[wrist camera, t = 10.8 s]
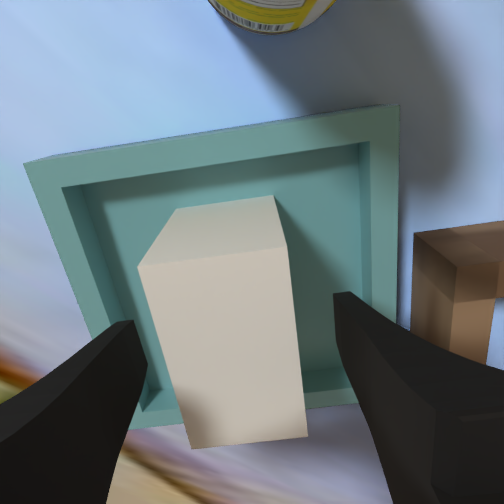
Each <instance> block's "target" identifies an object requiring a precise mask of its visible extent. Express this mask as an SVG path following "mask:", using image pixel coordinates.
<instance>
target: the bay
mask: <svg viewBox="0 0 504 504" xmlns="http://www.w3.org/2000/svg"><path fill="white" fill-rule="evenodd" d="M502 297H504V221H497V222H489V223H482V224H475V225H467V226H460V227H453V228H446V229H438V230H431V231H424V232H417V233H414V242H413V269H412V296H411V322H410V332H411V333H413V334H414V335H416V336H418V337H420V338H422V339H424V340H426V341H428V342H430V343H432V344H434V345H436V346H438V347H441V348H443V349H445V350H448V351H450V352H452V353H455V354H457V355H460V356H462V357H465V358H468V359H470V360H473V361H476V362H479V363H482V364H484V365H486V360H487V353H488V346H489V339H490V332H491V326H492V319H493V312H494V305H495V298H502Z"/></svg>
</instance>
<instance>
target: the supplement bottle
mask: <svg viewBox="0 0 504 504" xmlns="http://www.w3.org/2000/svg"><path fill="white" fill-rule="evenodd" d="M208 1H209V3H210V4H211V5H212V6H213V7H214V9H215V10H216V11H217V12H218V13H219V14H220V15H222V16H223V17H224V18H225V19H226V20H228V21H229V22H231V23H232V24H234V25H235V26H237V27H239V28H241V29H243V30H246V31H248V32H251V33H255V34H260V35H282V34H287V33H291V32H294V31H296V30H299V29H301V28H303V27H305V26H307V25H309V24H311V23H312V22H314V21H315V20H316V19H318V18H319V17H320V16H321V15H322V14H324V13H325V12H326V11H327V10H328V9H329V8H330V7H331V6H332V5H333V4H334V3H335V1H336V0H208Z"/></svg>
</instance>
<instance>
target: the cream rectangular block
mask: <svg viewBox="0 0 504 504" xmlns="http://www.w3.org/2000/svg"><path fill="white" fill-rule="evenodd" d="M137 268H138V271H139V275H140V278H141V282H142V285H143V288H144V292H145V295H146V298H147V302H148V305H149V308H150V312H151V315H152V318H153V322H154V325H155V328H156V332H157V335H158V338H159V342H160V345H161V348H162V352H163V355H164V358H165V362H166V365H167V368H168V372H169V375H170V378H171V382H172V385H173V388H174V392H175V395H176V398H177V402H178V405H179V408H180V412H181V415H182V419H183V422H184V425H185V429H186V432H187V435H188V439H189V442H190V445H191V449H200V448H209V447H218V446H227V445H236V444H246V443H255V442H264V441H273V440H282V439H291V438H300V437H308V431H307V422H306V413H305V404H304V394H303V385H302V376H301V367H300V358H299V349H298V340H297V331H296V322H295V313H294V304H293V295H292V286H291V277H290V268H289V259H288V250H287V244H286V241H285V237H284V233H283V229H282V226H281V222H280V218H279V215H278V211H277V207H276V204H275V200H274V196H273V195H270V196H263V197H256V198H249V199H242V200H235V201H228V202H220V203H213V204H206V205H199V206H192V207H185V208H178V209H176V210H175V211H174V213H173V214H172V216H171V217H170V219H169V220H168V222H167V223H166V225H165V226H164V227H163V229H162V230H161V232H160V233H159V235H158V236H157V238H156V239H155V241H154V242H153V244H152V245H151V247H150V248H149V250H148V251H147V253H146V254H145V256H144V257H143V259H142V260H141V262H140V263H139V265H138V266H137Z"/></svg>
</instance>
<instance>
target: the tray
mask: <svg viewBox="0 0 504 504" xmlns="http://www.w3.org/2000/svg"><path fill="white" fill-rule="evenodd" d="M399 130H400V105H374V106H367V107H361V108H354V109H348V110H342V111H335V112H329V113H322V114H316V115H309V116H303V117H296V118H290V119H284V120H277V121H271V122H264V123H258V124H251V125H245V126H239V127H232V128H226V129H219V130H213V131H206V132H200V133H193V134H187V135H181V136H174V137H168V138H161V139H155V140H148V141H142V142H136V143H129V144H123V145H116V146H110V147H103V148H97V149H91V150H84V151H78V152H71V153H65V154H58V155H52V156H48V157H45V158H41V159H38V160H34V161H30V162H27V163H23V165H24V168H25V170H26V173H27V175H28V178H29V180H30V183H31V185H32V188H33V190H34V193H35V195H36V198H37V200H38V203H39V206H40V208H41V211H42V213H43V216H44V218H45V221H46V223H47V226H48V228H49V231H50V233H51V236H52V238H53V241H54V244H55V246H56V249H57V251H58V254H59V256H60V259H61V261H62V264H63V266H64V269H65V271H66V274H67V276H68V279H69V282H70V284H71V287H72V289H73V292H74V294H75V297H76V299H77V302H78V304H79V307H80V309H81V312H82V314H83V317H84V320H85V322H86V325H87V327H88V330H89V332H90V335H91V337H92V340H93V339H94V338H96V337H97V336H98V335H99V334H101V333H102V332H103V331H104V330H106V329H107V328H108V327H110V326H111V325H113V324H114V323H116V322H118V321H125V320H134V323H135V326H136V329H137V332H138V335H139V338H140V341H141V344H142V347H143V350H144V353H145V356H146V359H147V362H148V367H147V372H146V377H145V382H144V386H143V390H142V393H141V396H140V399H139V402H138V404H137V407H136V410H135V413H134V415H133V418H132V421H131V423H130V426H129V429H128V430H131V429H139V428H148V427H156V426H165V425H174V424H182V423H184V422H183V419H182V415H181V412H180V408H179V405H178V402H177V398H176V395H175V392H174V388H173V385H172V382H171V378H170V375H169V372H168V368H167V365H166V362H165V358H164V355H163V352H162V348H161V345H160V342H159V338H158V335H157V332H156V328H155V325H154V322H153V318H152V315H151V312H150V308H149V305H148V302H147V298H146V295H145V292H144V288H143V285H142V282H141V278H140V275H139V271H138V268H137V266H138V265H139V263H140V262H141V260H142V259H143V257H144V256H145V254H146V253H147V251H148V250H149V248H150V247H151V245H152V244H153V242H154V241H155V239H156V238H157V236H158V235H159V233H160V232H161V230H162V229H163V227H164V226H165V225H166V223H167V222H168V220H169V219H170V217H171V216H172V214H173V213H174V211H175V210H176V209H178V208H185V207H192V206H199V205H206V204H213V203H220V202H228V201H235V200H242V199H249V198H256V197H263V196H270V195H273V196H274V200H275V204H276V207H277V211H278V215H279V218H280V222H281V226H282V229H283V233H284V237H285V241H286V244H287V250H288V259H289V268H290V277H291V286H292V295H293V304H294V313H295V322H296V331H297V340H298V349H299V358H300V367H301V376H302V385H303V394H304V404H305V409H311V408H320V407H329V406H337V405H346V404H355V403H359V402H358V400H357V398H356V395H355V393H354V391H353V388H352V386H351V384H350V381H349V379H348V377H347V374H346V372H345V370H344V367H343V364H342V361H341V358H340V354H339V351H338V347H337V344H336V337H335V321H334V306H333V293H340V292H347V291H351V292H352V293H353V294H355V295H356V296H357V297H359V298H360V299H361V300H363V301H364V302H365V303H367V304H368V305H369V306H371V307H372V308H374V309H375V310H376V311H378V312H379V313H381V314H382V315H383V316H385V317H386V318H388V319H389V320H391V321H393V322H394V323H396V295H397V240H398V185H399Z"/></svg>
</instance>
